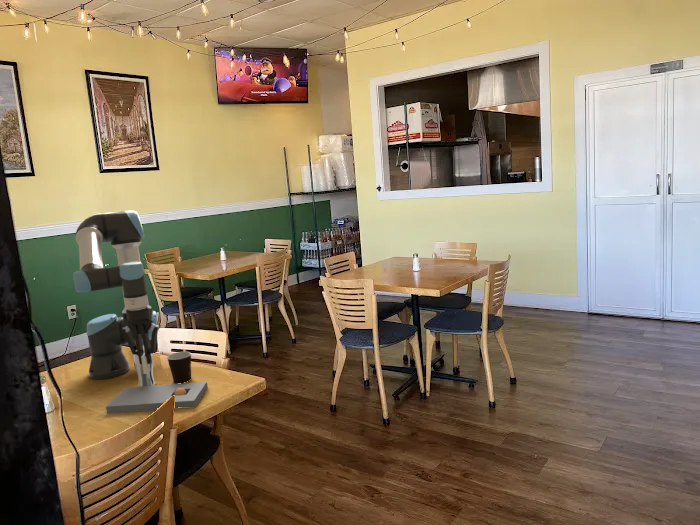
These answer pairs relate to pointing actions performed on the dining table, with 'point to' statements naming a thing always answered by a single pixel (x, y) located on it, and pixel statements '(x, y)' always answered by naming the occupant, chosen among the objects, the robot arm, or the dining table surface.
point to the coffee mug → (180, 366)
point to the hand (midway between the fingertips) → (147, 372)
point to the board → (155, 397)
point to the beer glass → (143, 378)
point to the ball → (180, 391)
